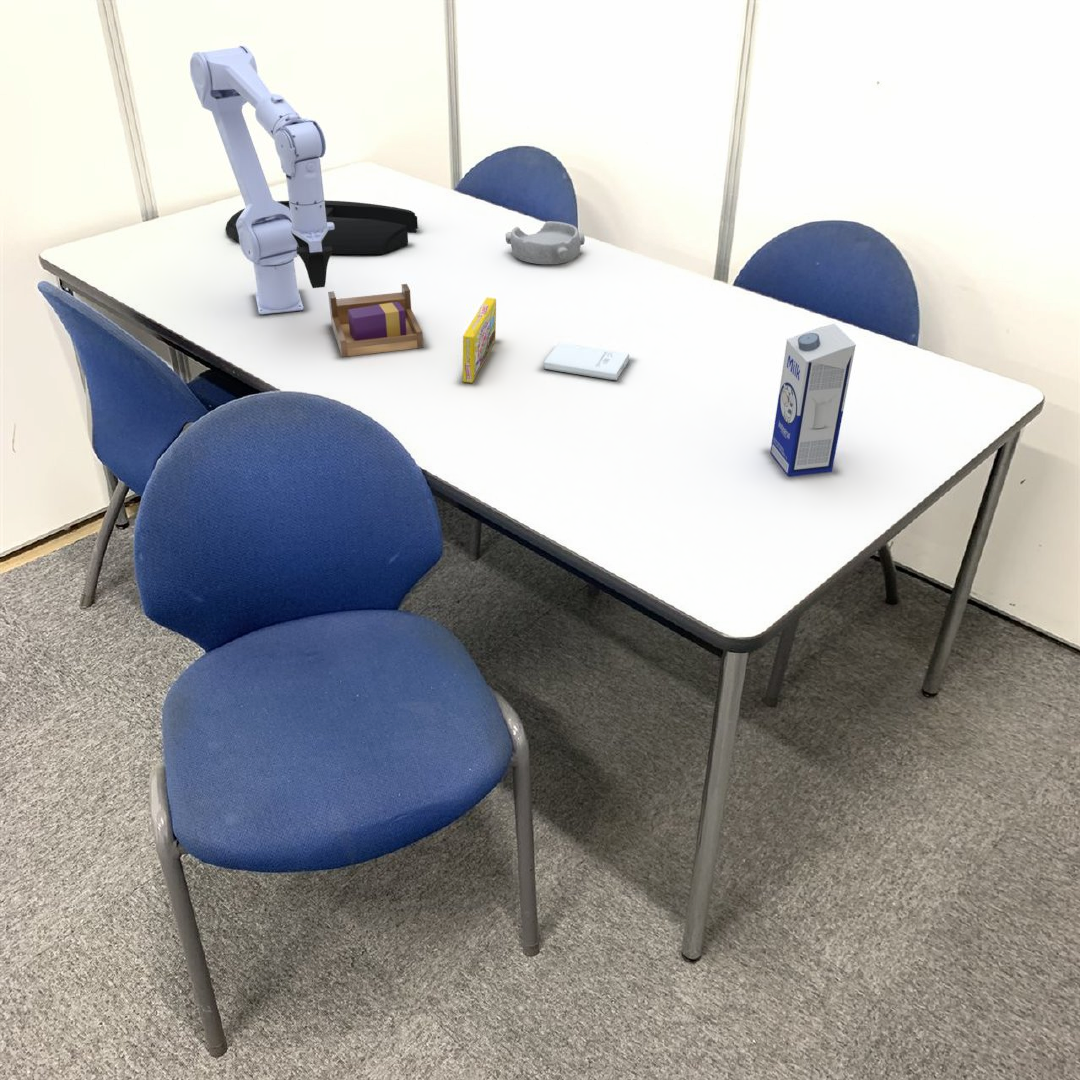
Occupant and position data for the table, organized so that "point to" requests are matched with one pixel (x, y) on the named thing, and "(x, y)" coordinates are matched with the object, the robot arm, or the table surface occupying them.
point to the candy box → (479, 339)
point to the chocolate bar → (377, 321)
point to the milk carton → (812, 400)
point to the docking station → (357, 227)
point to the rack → (379, 344)
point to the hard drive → (586, 361)
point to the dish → (547, 243)
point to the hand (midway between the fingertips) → (315, 278)
